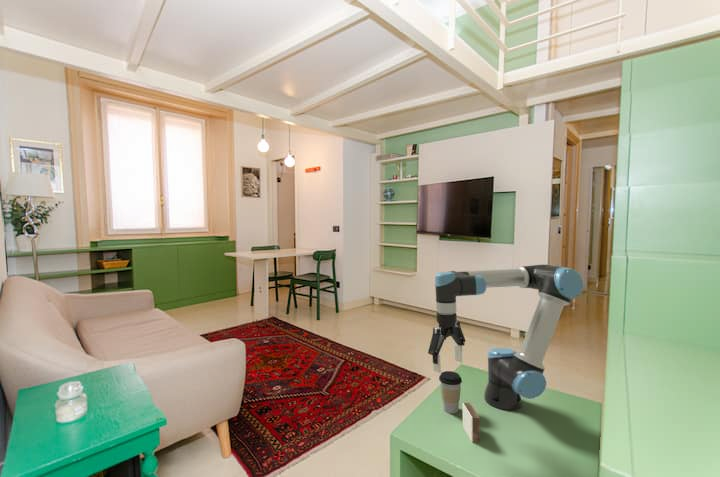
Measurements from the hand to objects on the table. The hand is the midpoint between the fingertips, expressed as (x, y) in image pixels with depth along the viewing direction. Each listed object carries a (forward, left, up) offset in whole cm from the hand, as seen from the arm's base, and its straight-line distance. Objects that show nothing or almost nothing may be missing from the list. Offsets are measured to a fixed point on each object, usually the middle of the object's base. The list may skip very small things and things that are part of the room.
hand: (448, 366), depth 124 cm
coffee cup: (-4, -12, -24) cm, 27 cm away
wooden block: (-7, +4, -24) cm, 25 cm away
